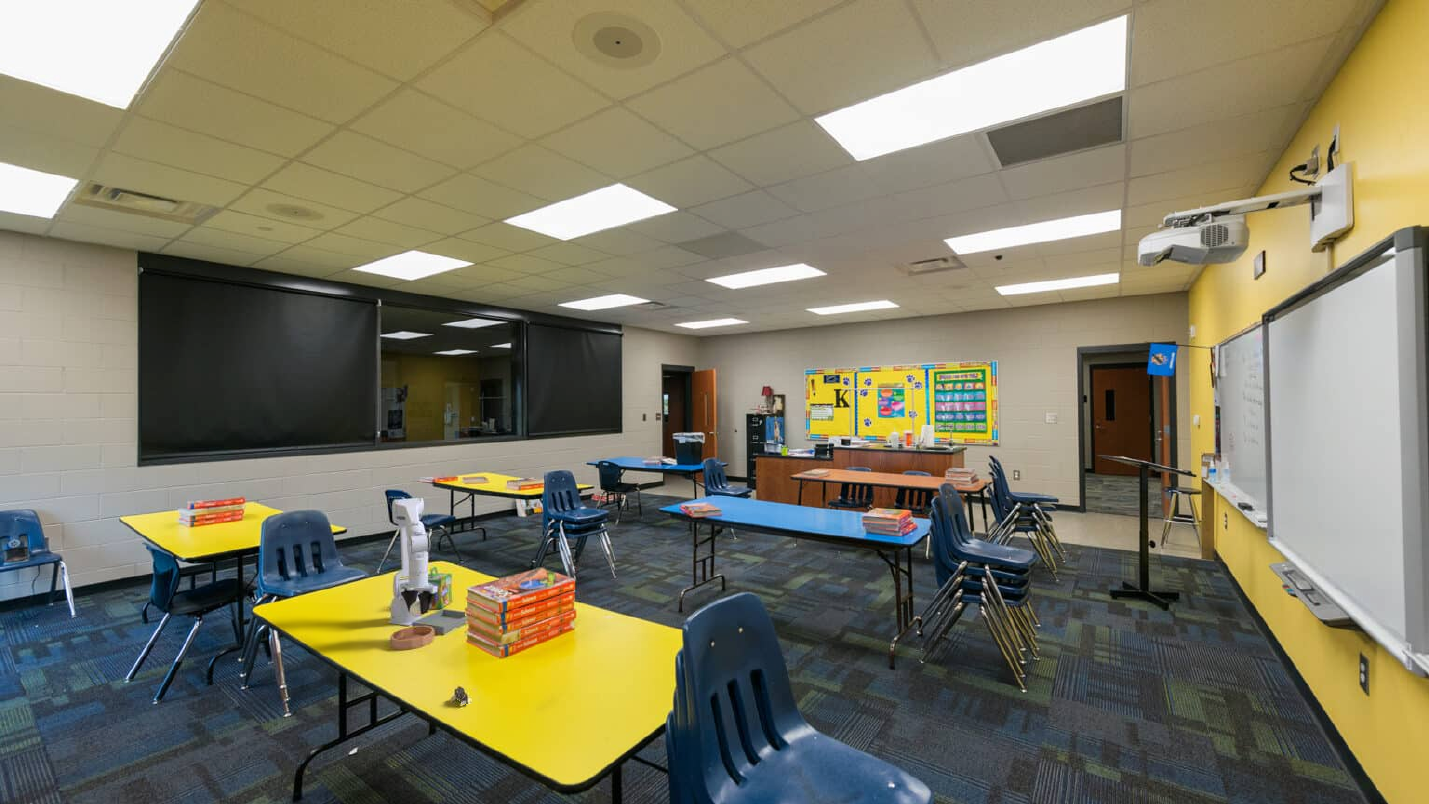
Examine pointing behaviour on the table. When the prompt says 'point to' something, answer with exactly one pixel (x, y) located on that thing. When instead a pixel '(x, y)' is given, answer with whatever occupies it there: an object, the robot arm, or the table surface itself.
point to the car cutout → (461, 696)
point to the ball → (415, 609)
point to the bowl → (412, 637)
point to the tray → (443, 621)
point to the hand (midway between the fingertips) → (418, 612)
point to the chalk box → (440, 589)
